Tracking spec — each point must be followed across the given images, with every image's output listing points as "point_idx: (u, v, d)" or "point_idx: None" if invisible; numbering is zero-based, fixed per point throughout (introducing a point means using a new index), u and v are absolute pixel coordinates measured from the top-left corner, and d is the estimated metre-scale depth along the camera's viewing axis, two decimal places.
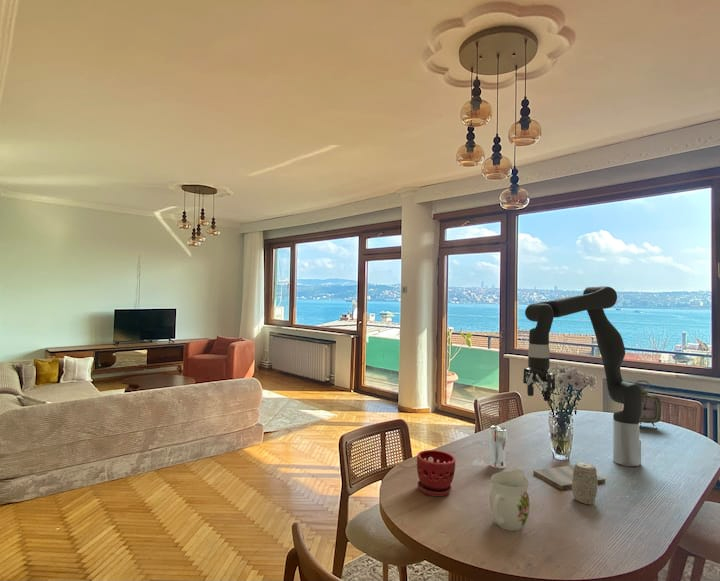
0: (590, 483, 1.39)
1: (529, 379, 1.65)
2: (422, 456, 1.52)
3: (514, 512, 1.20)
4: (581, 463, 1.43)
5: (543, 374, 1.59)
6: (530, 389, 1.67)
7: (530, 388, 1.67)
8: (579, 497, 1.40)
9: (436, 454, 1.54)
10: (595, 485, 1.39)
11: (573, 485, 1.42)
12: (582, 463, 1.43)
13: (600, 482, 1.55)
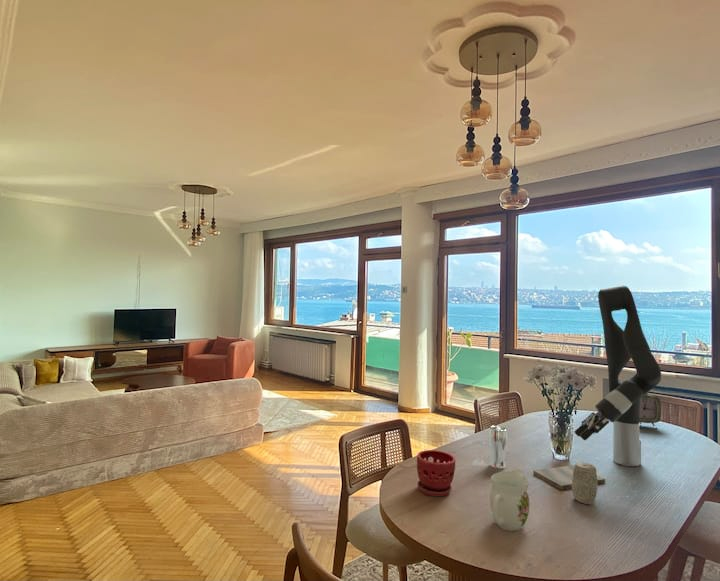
0: (590, 483, 1.39)
1: None
2: (422, 456, 1.52)
3: (514, 512, 1.20)
4: (581, 463, 1.43)
5: None
6: None
7: None
8: (579, 497, 1.40)
9: (436, 454, 1.54)
10: (595, 485, 1.39)
11: (573, 485, 1.42)
12: (582, 463, 1.43)
13: (600, 482, 1.55)
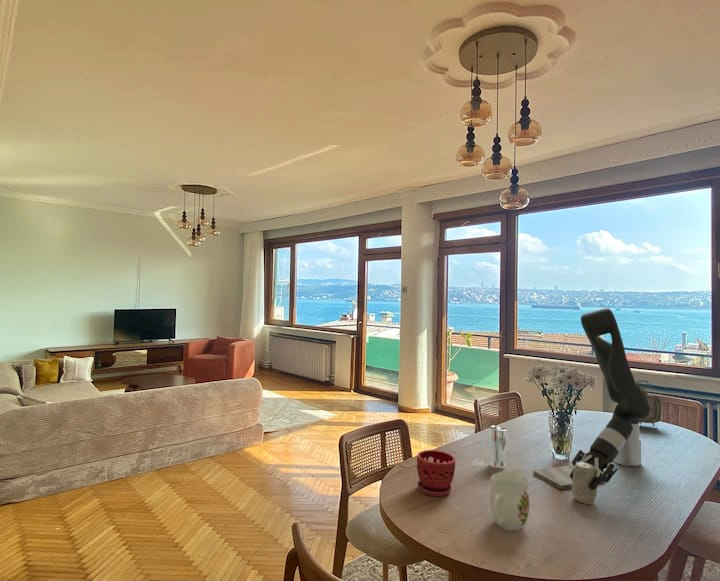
0: None
1: None
2: (422, 456, 1.52)
3: (514, 512, 1.20)
4: (581, 463, 1.43)
5: None
6: None
7: None
8: (579, 497, 1.40)
9: (436, 454, 1.54)
10: None
11: (573, 485, 1.42)
12: (582, 463, 1.43)
13: (600, 482, 1.55)
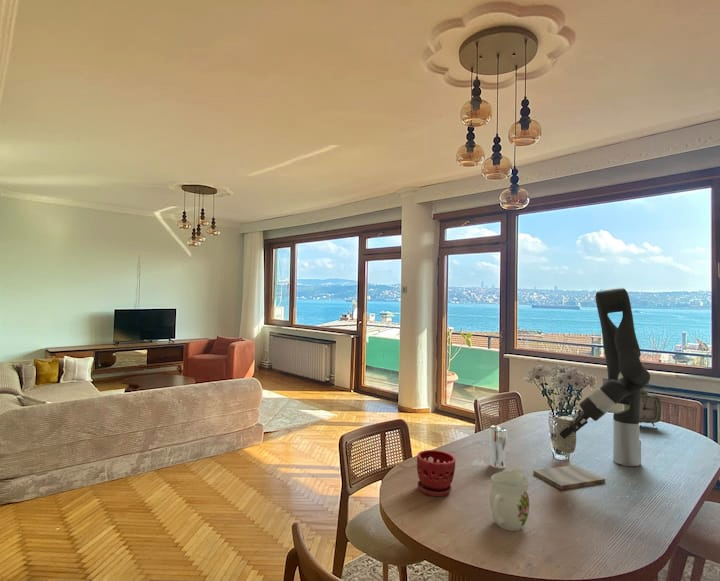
0: None
1: None
2: (422, 456, 1.52)
3: (514, 512, 1.20)
4: (565, 416, 1.56)
5: None
6: None
7: None
8: (556, 445, 1.55)
9: (436, 454, 1.54)
10: (569, 435, 1.51)
11: None
12: (566, 417, 1.56)
13: (600, 482, 1.55)
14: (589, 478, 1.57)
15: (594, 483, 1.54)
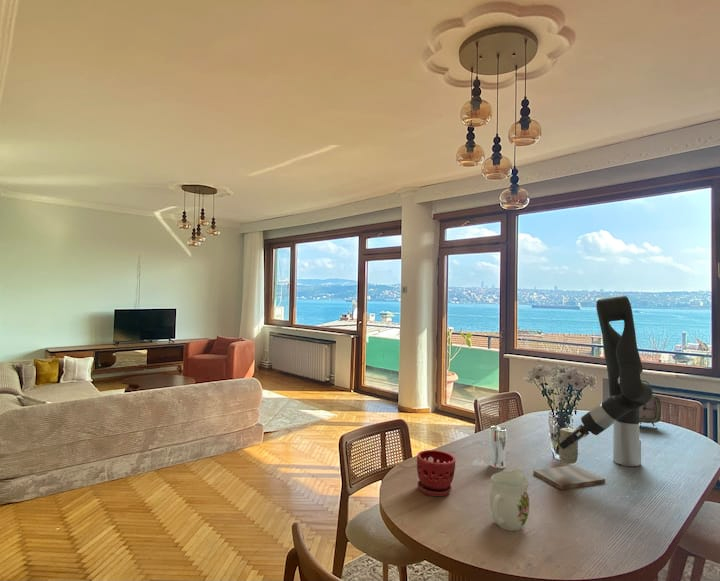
0: None
1: (579, 439, 1.55)
2: (422, 456, 1.52)
3: (514, 512, 1.20)
4: (569, 428, 1.61)
5: None
6: None
7: None
8: (559, 454, 1.61)
9: (436, 454, 1.54)
10: (568, 446, 1.57)
11: None
12: (570, 428, 1.61)
13: (600, 482, 1.55)
14: (589, 478, 1.57)
15: (594, 483, 1.54)
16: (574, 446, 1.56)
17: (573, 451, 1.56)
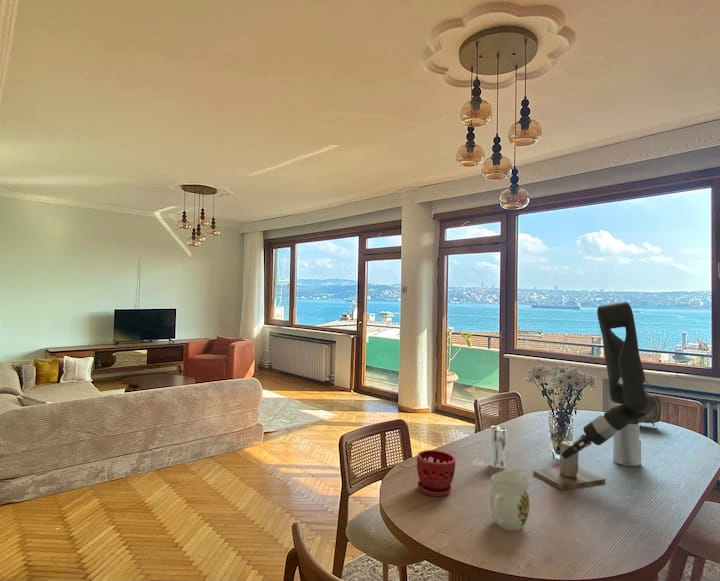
0: None
1: (582, 449, 1.54)
2: (422, 456, 1.52)
3: (514, 512, 1.20)
4: (569, 441, 1.61)
5: None
6: None
7: None
8: None
9: (436, 454, 1.54)
10: (568, 460, 1.56)
11: None
12: (570, 442, 1.60)
13: (600, 482, 1.55)
14: (589, 478, 1.57)
15: (594, 483, 1.54)
16: (574, 460, 1.56)
17: (573, 465, 1.56)
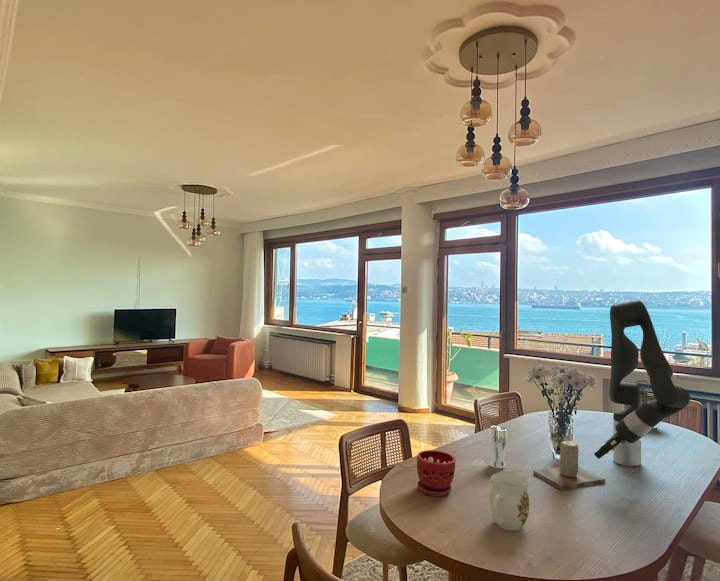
0: (564, 457, 1.58)
1: (615, 448, 1.48)
2: (422, 456, 1.52)
3: (514, 512, 1.20)
4: (569, 441, 1.61)
5: None
6: None
7: None
8: (559, 468, 1.61)
9: (436, 454, 1.54)
10: (568, 460, 1.56)
11: None
12: (570, 442, 1.60)
13: (600, 482, 1.55)
14: (589, 478, 1.57)
15: (594, 483, 1.54)
16: (574, 460, 1.56)
17: (573, 465, 1.56)
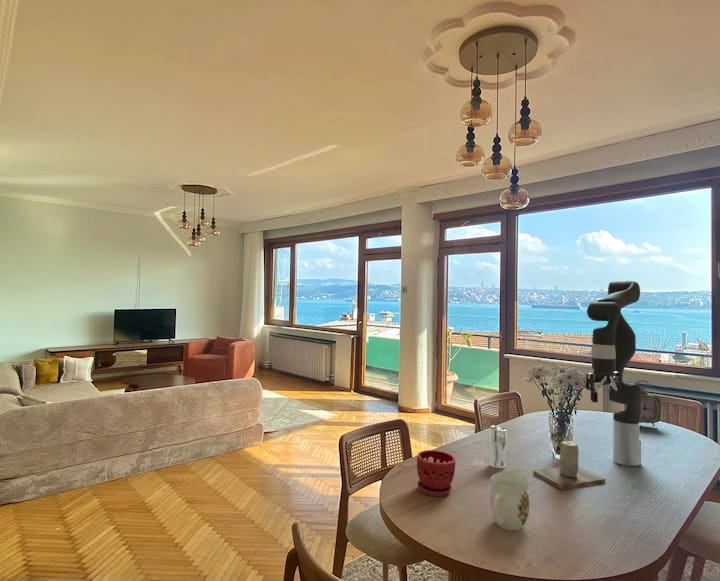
0: (564, 457, 1.58)
1: (601, 384, 1.53)
2: (422, 456, 1.52)
3: (514, 512, 1.20)
4: (569, 441, 1.61)
5: (613, 374, 1.56)
6: None
7: None
8: (559, 468, 1.61)
9: (436, 454, 1.54)
10: (568, 460, 1.56)
11: None
12: (570, 442, 1.60)
13: (600, 482, 1.55)
14: (589, 478, 1.57)
15: (594, 483, 1.54)
16: (574, 460, 1.56)
17: (573, 465, 1.56)
